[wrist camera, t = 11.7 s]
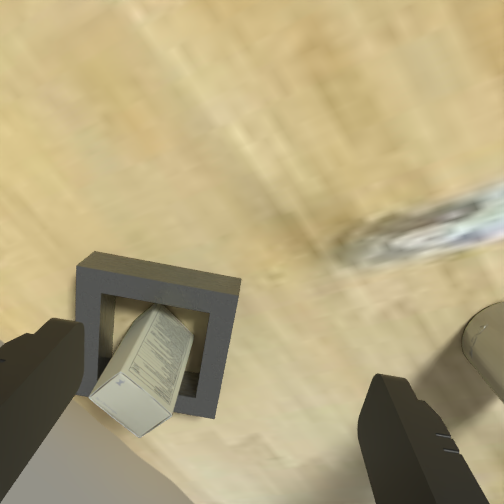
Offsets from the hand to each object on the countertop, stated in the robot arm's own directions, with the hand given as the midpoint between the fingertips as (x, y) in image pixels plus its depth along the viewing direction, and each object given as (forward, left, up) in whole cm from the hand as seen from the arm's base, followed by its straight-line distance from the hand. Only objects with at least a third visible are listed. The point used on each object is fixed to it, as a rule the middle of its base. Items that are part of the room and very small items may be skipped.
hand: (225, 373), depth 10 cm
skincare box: (+7, +18, -28) cm, 34 cm away
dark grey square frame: (+8, +18, -28) cm, 34 cm away
